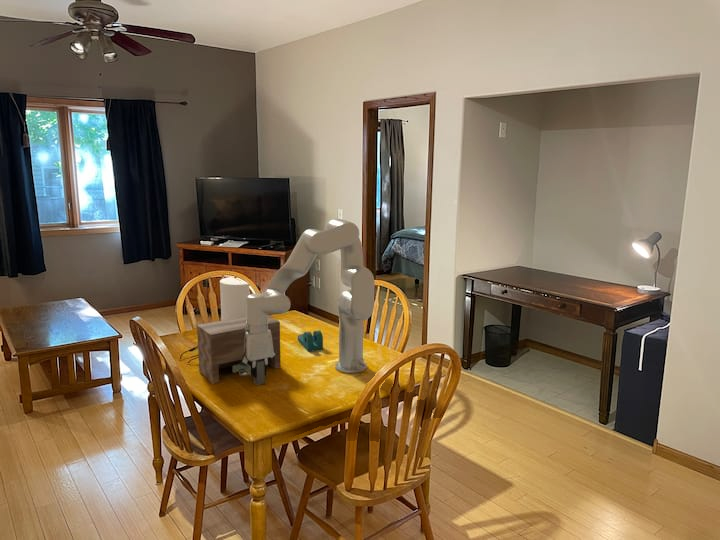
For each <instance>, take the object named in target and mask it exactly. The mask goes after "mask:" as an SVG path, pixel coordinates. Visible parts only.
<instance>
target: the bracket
mask: <svg viewBox="0 0 720 540" xmlns="http://www.w3.org/2000/svg"><path fill="white" fill-rule="evenodd" d="M312 333H313V334H312ZM323 337H324V336H323V333H322V331H321V330H320V329H319V330H314V331H313V332H311V331H304V333H300V334H298V335H297V342H298V341H299V342H298V343H299V344H300V345H301V346H302V347H303V348H304V349H305V350H306V351H307V352H308V353H310V352H317V350H318V351H324V338H323Z"/></svg>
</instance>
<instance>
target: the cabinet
mask: <svg viewBox="0 0 720 540" xmlns="http://www.w3.org/2000/svg"><path fill="white" fill-rule="evenodd" d="M246 324H247V316H245V317H239V318H234V319H228V320H217V321H212V322H207V323H201V324H196V331H197V332H196V334H197V346H198V349H197V350H198V351H197V352H198V357H199V358H198V371H199V373H200V374H201V373H202V374H201V375H203V376H204V378H206V379H207V380H208V381H209V382H210V383H211V382H212V384H213V385H215V384H218V383H220V372H219V371H220V369H224V368H229V367H232V365H234V364H239V363H243V362H241V360H242V357H243V355H244V338H245V333H246V332H247V331H244V329H243V328H244V327H246ZM268 329H269V330H270V331H271V335H272V341H273V351H274V353H275V356H274V357H272V358H271V359H270V361H269V362H268V365H269V366H271V367H272V368H274V369H279V368H281V366H282V365H281V363H282V361H281V322H280V321H279V320H277V319H275V318H273V317H271V316H270V315H268ZM247 360H248V359H247ZM214 383H215V384H214Z"/></svg>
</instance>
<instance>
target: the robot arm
mask: <svg viewBox="0 0 720 540" xmlns="http://www.w3.org/2000/svg"><path fill="white" fill-rule="evenodd" d="M337 251H339V252H340V281H341V283H342V284H343V285H344V286H346V287H347V288H349V289H345V290H343V291H342V292H341V293H340V294H339V295H338V298H337V300H336V301H337V303H336V305H337V312H338V313H337V314H338V321H339V322H338V325H339V326H338V328H339V329H338V361H336V362H335V364H334V368H335V370H336V371H339V372H340V373H346V374H356V373H361V372H363V371H365V370H366V369H368V365H367V363H366V362H365V358H364V321H367V320H368V319H369V318H371V316H372V314H373V313H374V309H375V290H376V289H375V286H376V285H375V276H374V274H373V273H372V271H371V270H370V269H369V268H367V267H365V266H364V250H363V245H362V241H361V239H360V230H359V227H358V226H357V224H355V223H354V222H351V221H349V220H345V219H341V218H333V219H330V220H328V223H327V225H326V229H324V230H318V229H315V228H308V229H306V230H304V231H303V233H302V234H301V235H300V237H299V239H298V241H297V243H296V244H295V246H294V248H293V250H292V251H291V253H290V255H289V257H288V258H287V261H286V262H285V263H284V264H283V265H282V266H281V267H280V268H279V269H278V270H277V271H276V272H275V273H274V274H273V276H272V277H271V278H270V280H269V282H268V284H267V286H266V287H265V289H264V292H263V293H251V294H250V293H249V295H248V296H247V298H246V313H247V324H246V327H244V328H243V329H244V331H247V332H246V333H245V338H244V355H243V357H242V360H241V362H243V363H246V364H248V365H250V366H251V375H250V376H252V377H253V379H254V378H257V368H256V366H255V365H256V360H260V359H263V360H264V372H265V376H267V373H268V372H267V371H268V365H269V364H268V362H269V361H270V359H271V358H272V357H274V356H275V353H274V351H273V341H272V335H271V331H270V330H269V329H268V316H269V315H283V314H284V315H285V314H286V313H287V312H288V311H290V309H291V299H290V298H289V297H288V296H287V295H286V294H285V293H286V291H287V290H288V288H289V287H290V285H291V284H292V283H294V281H296V280H297V279H299V278H302V277H304V276H305V275H306V274H307V273H308V272H309V270H310V268H311V266H312V264H313V263H314V261H315V259H316V257H317V256H324V255H327V254H330V253H334V252H337ZM247 359H248V360H247Z"/></svg>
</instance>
